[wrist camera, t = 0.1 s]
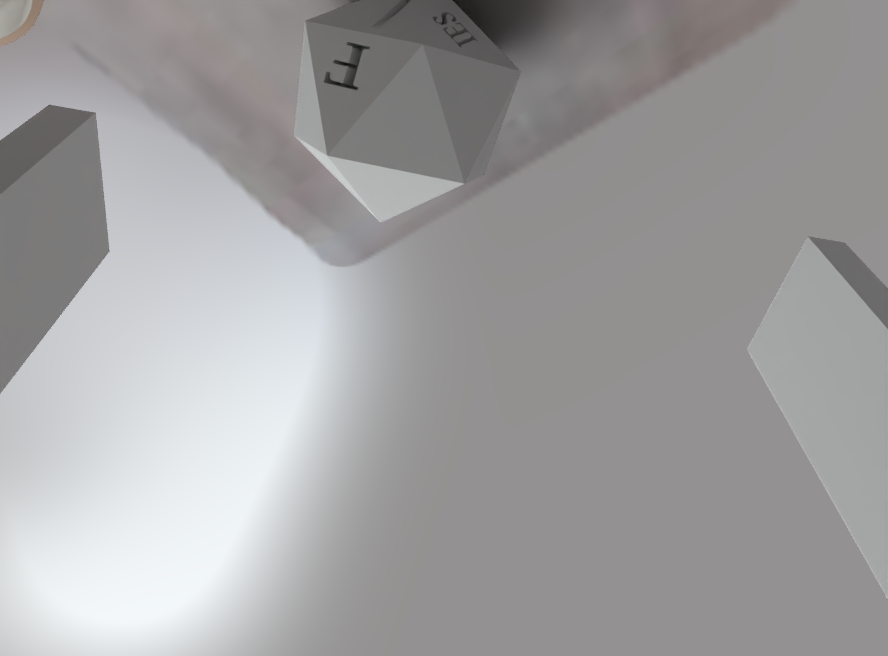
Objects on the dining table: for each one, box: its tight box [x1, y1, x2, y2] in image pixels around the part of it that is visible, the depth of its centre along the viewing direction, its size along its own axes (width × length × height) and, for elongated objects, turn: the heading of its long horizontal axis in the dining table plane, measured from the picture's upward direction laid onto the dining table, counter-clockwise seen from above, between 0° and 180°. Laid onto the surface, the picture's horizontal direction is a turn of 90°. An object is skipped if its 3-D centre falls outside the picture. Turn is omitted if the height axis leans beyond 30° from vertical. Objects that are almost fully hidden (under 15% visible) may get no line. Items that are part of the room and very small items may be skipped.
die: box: [294, 0, 521, 222], centre depth 29 cm, size 8×9×10 cm
